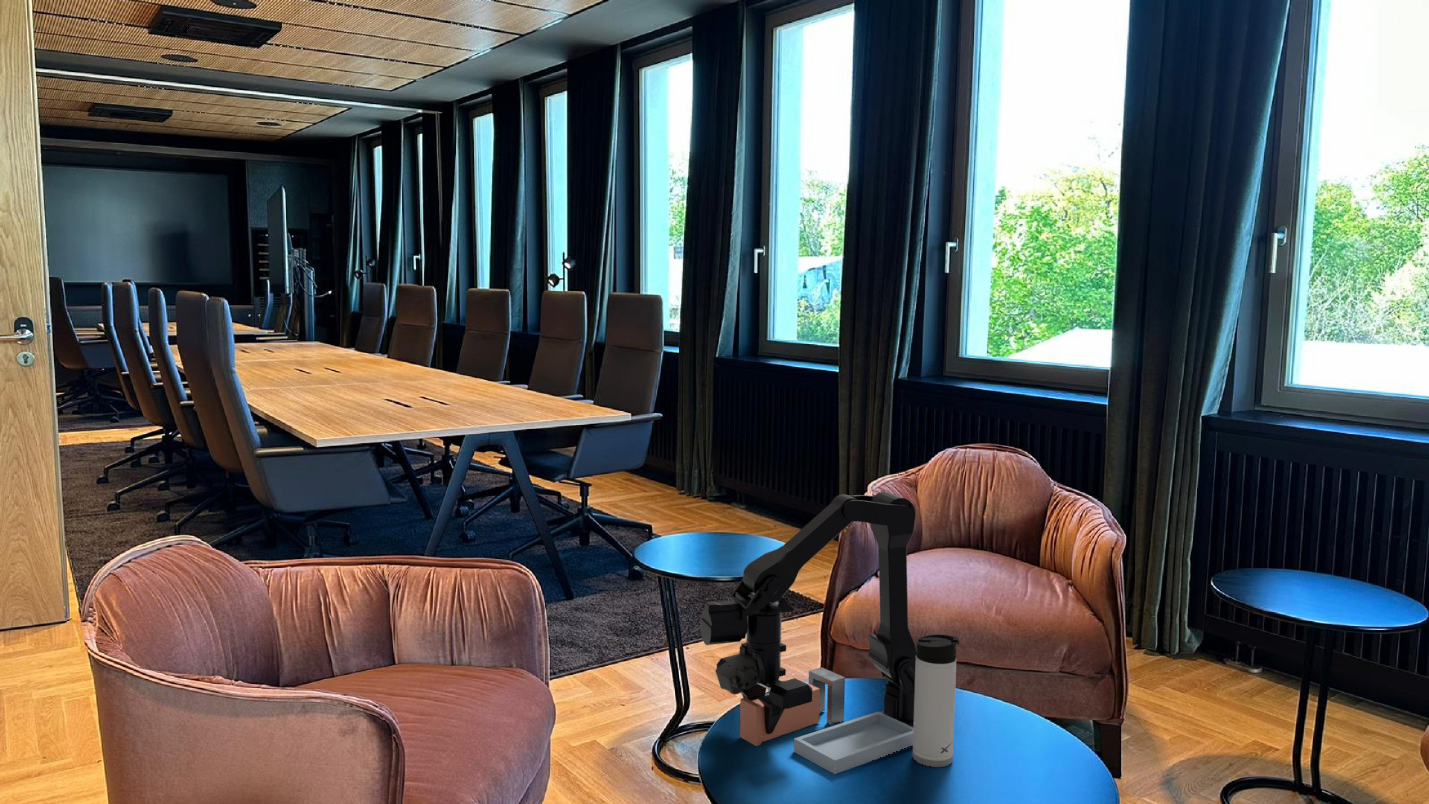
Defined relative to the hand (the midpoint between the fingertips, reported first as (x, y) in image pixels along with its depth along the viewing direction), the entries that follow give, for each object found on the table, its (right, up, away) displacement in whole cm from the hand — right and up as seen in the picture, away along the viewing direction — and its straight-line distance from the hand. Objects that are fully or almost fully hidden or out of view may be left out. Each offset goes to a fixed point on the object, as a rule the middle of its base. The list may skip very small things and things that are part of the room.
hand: (762, 729), depth 169 cm
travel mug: (+27, -3, -7) cm, 28 cm away
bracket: (+12, -1, +9) cm, 14 cm away
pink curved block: (+4, -1, +3) cm, 5 cm away
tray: (+15, -2, -3) cm, 16 cm away
